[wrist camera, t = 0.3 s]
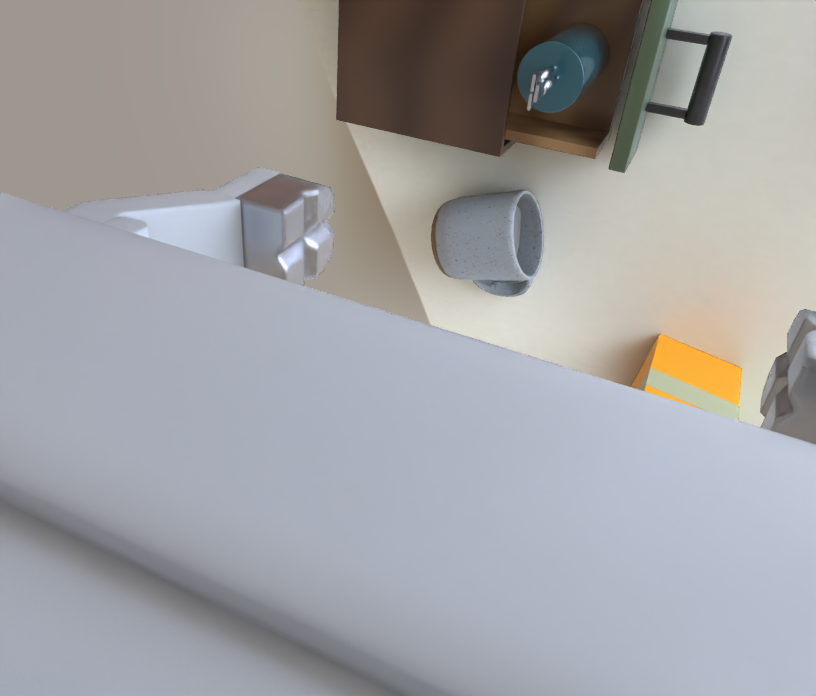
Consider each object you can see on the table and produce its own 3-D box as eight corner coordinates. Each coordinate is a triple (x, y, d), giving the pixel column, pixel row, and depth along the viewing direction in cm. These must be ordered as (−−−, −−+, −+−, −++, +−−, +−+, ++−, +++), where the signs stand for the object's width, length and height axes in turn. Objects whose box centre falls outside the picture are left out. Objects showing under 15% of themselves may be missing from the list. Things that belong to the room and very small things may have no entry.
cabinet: (560, -62, 51) (534, -57, 45) (526, 132, 59) (499, 157, 53) (384, -85, 55) (340, -83, 49) (374, 100, 63) (335, 119, 57)
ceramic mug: (449, 188, 64) (416, 219, 58) (535, 176, 60) (509, 208, 54) (474, 291, 69) (446, 330, 63) (556, 286, 65) (534, 327, 59)
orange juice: (743, 368, 61) (732, 525, 46) (697, 437, 67) (672, 599, 51) (657, 332, 63) (619, 472, 48) (619, 402, 68) (573, 549, 53)
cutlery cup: (557, 17, 52) (502, 47, 41) (616, 27, 50) (575, 60, 40) (545, 79, 54) (491, 122, 44) (601, 89, 53) (559, 136, 43)
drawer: (752, -26, 46) (750, -18, 42) (691, 163, 54) (683, 186, 50) (502, -59, 52) (477, -55, 47) (478, 118, 59) (454, 135, 55)
